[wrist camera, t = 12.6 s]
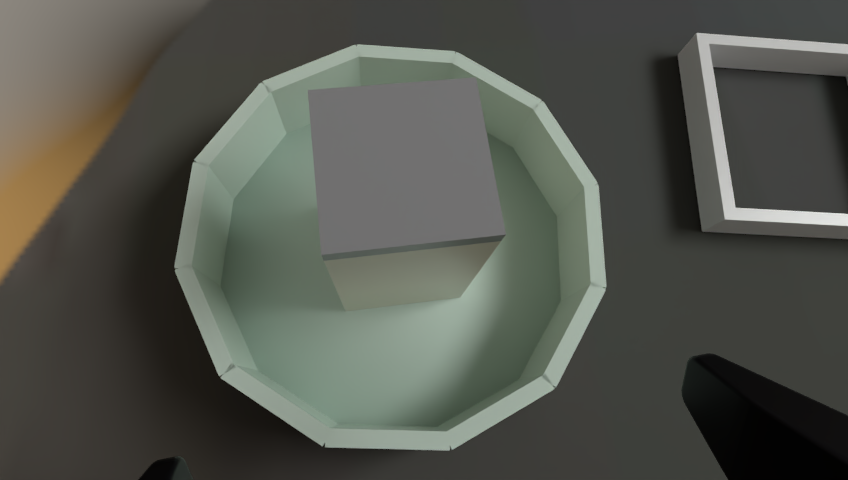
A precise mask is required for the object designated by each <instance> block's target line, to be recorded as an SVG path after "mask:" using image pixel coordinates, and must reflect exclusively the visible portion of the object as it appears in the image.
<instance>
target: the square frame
mask: <svg viewBox="0 0 848 480" xmlns="http://www.w3.org/2000/svg"><path fill="white" fill-rule="evenodd" d="M678 62H679V70H680V77H681V84H682V91H683V98H684V106H685V113H686V120H687V127H688V135H689V142H690V149H691V156H692V164H693V171H694V178H695V185H696V193H697V200H698V207H699V214H700V221H701V229H702V232H718V233H737V234H756V235H775V236H794V237H814V238H833V239H848V214H839V213H821V212H802V211H784V210H766V209H748V208H735V201H734V195H733V189H732V183H731V177H730V170H729V164H728V158H727V152H726V146H725V139H724V133H723V127H722V121H721V114H720V108H719V102H718V96H717V90H716V83H715V77H714V71H713V67H720V68H734V69H748V70H762V71H776V72H789V73H803V74H817V75H831V76H845V77H846V80H847V84H848V44H834V43H821V42H808V41H795V40H782V39H769V38H755V37H742V36H729V35H716V34H703V33H696V34H695V35H694V36H693V37H692V39H691V40H690V41H689V42H688V43H687V45H686V46H685V47H684V48H683V49H682V50H681V52H680V53H679V54H678Z"/></svg>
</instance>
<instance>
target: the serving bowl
mask: <svg viewBox="0 0 848 480" xmlns="http://www.w3.org/2000/svg"><path fill="white" fill-rule="evenodd" d="M473 77H476V80H477V85H478V90H479V95H480V101H481V106H482V111H483V116H484V122H485V127H486V132H487V137H488V143H489V148H490V153H491V158H492V164H493V169H494V174H495V180H496V185H497V190H498V195H499V201H500V206H501V211H502V216H503V222H504V227H505V232H506V235H505V237H504V238H503V239H502V241H501V242H500V244H499V245H498V246H497V248H496V249H495V250H494V252H493V253H492V254H491V256H490V257H489V259H488V260H487V261H486V263H485V264H484V265H483V267H482V268H481V270H480V271H479V272H478V274H477V275H476V276H475V278H474V279H473V281H472V282H471V283H470V285H469V286H468V287H467V289H466V290H465V292H464V293H463V294H462V296H461V297H460V298H451V299H443V300H435V301H427V302H419V303H410V304H402V305H394V306H386V307H378V308H370V309H361V310H353V311H345V309H344V307H343V304H342V302H341V300H340V297H339V295H338V293H337V290H336V288H335V286H334V283H333V281H332V279H331V276H330V274H329V272H328V270H327V267H326V265H325V263H324V260H323V258H322V256H321V246H320V234H319V222H318V210H317V198H316V185H315V173H314V161H313V149H312V137H311V124H310V112H309V100H308V90H314V89H327V88H341V87H354V86H367V85H380V84H394V83H407V82H420V81H434V80H447V79H460V78H473ZM262 82H263V84H262V83H260V84H259V85H258V86H257V87H256V89H255V90H254V91H253V92H252V93H251V94H250V96H249V97H248V98H247V99H246V100H245V101H244V103H243V104H242V105H241V106H240V107H239V108H238V110H237V111H236V112H235V113H234V114H233V115H232V117H231V118H230V119H229V120H228V121H227V122H226V123H225V125H224V126H223V127H222V128H221V129H220V130H219V132H218V133H217V134H216V135H215V136H214V137H213V139H212V140H211V141H210V142H209V143H208V144H207V146H206V147H205V148H204V149H203V150H202V151H201V153H200V154H199V155H198V156H197V157H196V158H195V159H194V161H195V162H193V164H192V170H191V176H190V181H189V187H188V192H187V198H186V204H185V209H184V215H183V220H182V226H181V232H180V237H179V243H178V248H177V254H176V260H175V265H174V268H175V269H176V270H174V271H175V273H176V275H177V278H178V280H179V283H180V285H181V287H182V290H183V292H184V294H185V297H186V299H187V302H188V304H189V306H190V309H191V311H192V313H193V316H194V318H195V321H196V323H197V325H198V328H199V330H200V332H201V335H202V337H203V340H204V342H205V344H206V347H207V349H208V351H209V354H210V356H211V359H212V361H213V363H214V366H215V368H216V371H217V373H218V375H219V376H221V379H223V380H224V381H226V382H227V383H229V384H230V385H232V386H233V387H234V388H236V389H237V390H239V391H240V392H242V393H243V394H245V395H246V396H248V397H249V398H251V399H252V400H254V401H255V402H257V403H258V404H260V405H261V406H263V407H264V408H266V409H267V410H269V411H270V412H272V413H273V414H275V415H276V416H278V417H279V418H281V419H282V420H284V421H285V422H287V423H288V424H290V425H291V426H292V427H294V428H295V429H297V430H298V431H300V432H301V433H303V434H304V435H306V436H307V437H309V438H310V439H312V440H313V441H315V442H316V443H318V444H319V445H321V446H324V445H325V447H330V448H370V449H410V450H450V449H452V450H453V449H454V448H456V447H458V446H459V445H461V444H463V443H464V442H466V441H468V440H470V439H471V438H473V437H475V436H476V435H478V434H480V433H481V432H483V431H485V430H486V429H488V428H490V427H491V426H493V425H495V424H496V423H498V422H500V421H501V420H503V419H505V418H507V417H508V416H510V415H512V414H513V413H515V412H517V411H518V410H520V409H522V408H523V407H525V406H527V405H528V404H530V403H532V402H533V401H535V400H537V399H538V398H540V397H542V396H543V395H545V394H547V393H549V392H550V391H552V390H554V387H557V385H558V383H559V381H560V379H561V377H562V375H563V373H564V371H565V369H566V367H567V365H568V363H569V361H570V359H571V357H572V355H573V353H574V351H575V349H576V347H577V345H578V343H579V341H580V339H581V337H582V336H583V334H584V332H585V330H586V328H587V326H588V324H589V322H590V320H591V318H592V316H593V314H594V312H595V310H596V308H597V306H598V304H599V302H600V300H601V298H602V296H603V294H604V292H605V290H606V289H605V288H606V275H605V263H604V250H603V237H602V224H601V211H600V198H599V185H597V184H598V183H597V181H596V180H595V178H594V177H593V175H592V174H591V172H590V171H589V169H588V168H587V166H586V165H585V163H584V162H583V160H582V159H581V157H580V156H579V154H578V153H577V151H576V150H575V148H574V147H573V145H572V144H571V142H570V141H569V139H568V138H567V136H566V135H565V133H564V132H563V130H562V129H561V127H560V126H559V124H558V123H557V121H556V120H555V118H554V117H553V115H552V114H551V112H550V111H549V109H548V108H547V106H546V105H545V103H544V102H541V101H542V100H541V99H539V98H537V97H536V96H534V95H532V94H530V93H528V92H527V91H525V90H523V89H521V88H520V87H518V86H516V85H514V84H513V83H511V82H509V81H507V80H506V79H504V78H502V77H500V76H498V75H497V74H495V73H493V72H491V71H490V70H488V69H486V68H484V67H483V66H481V65H479V64H477V63H476V62H474V61H472V60H470V59H468V58H467V57H465V56H463V55H461V54H460V53H458V52H456V54H455V51H443V50H429V49H415V48H401V47H387V46H373V45H359V44H357V47H356V45H353V46H351V47H348V48H345V49H343V50H340V51H338V52H335V53H333V54H330V55H328V56H325V57H323V58H320V59H318V60H315V61H313V62H310V63H308V64H305V65H303V66H300V67H297V68H295V69H292V70H290V71H287V72H285V73H282V74H280V75H277V76H275V77H272V78H270V79H267V80H265V81H262ZM540 102H541V103H540Z"/></svg>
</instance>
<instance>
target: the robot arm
mask: <svg viewBox="0 0 848 480" xmlns="http://www.w3.org/2000/svg"><path fill="white" fill-rule="evenodd" d="M682 397H683V400H684V403H685V405H686V406H687V408H688V410H689V412H690V414H691V415H692V417H693V419H694V421H695V422H696V424H697V426H698V428H699V430H700V431H701V433H702V435H703V437H704V438H705V440H706V442H707V444H708V446H709V447H710V449H711V451H712V453H713V454H714V456H715V458H716V460H717V461H718V463H719V465H720V467H721V468H722V470H723V472H724V473H725V475H726V477H727V478H728V480H848V415H846V414H843V413H841V412H839V411H837V410H835V409H833V408H830V407H828V406H826V405H824V404H822V403H820V402H817V401H815V400H813V399H811V398H809V397H807V396H804V395H802V394H800V393H798V392H796V391H794V390H791V389H789V388H787V387H785V386H783V385H781V384H778V383H776V382H774V381H772V380H770V379H768V378H765V377H763V376H761V375H759V374H757V373H754V372H752V371H750V370H748V369H746V368H744V367H741V366H739V365H737V364H735V363H733V362H731V361H728V360H726V359H724V358H722V357H720V356H718V355H715V354H703V355H698V356H693V357H691V358H690V359H689V360H688V362H687V365H686V370H685V375H684V380H683V385H682ZM138 480H193V478H192V476H191V473H190V471H189V469H188V466H187V464H186V462H185V460H184V459H183V458H182V457H178V456H176V457H171V458H166V459H161V460H157V461H155V462H154V463H153V464H151V465H150V467H149V468H148V469H147V470H146V471H145V472H144V474H143V475H142V476H141V477H140V478H139V479H138Z"/></svg>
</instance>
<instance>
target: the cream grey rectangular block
mask: <svg viewBox="0 0 848 480" xmlns="http://www.w3.org/2000/svg"><path fill="white" fill-rule="evenodd" d="M308 100H309V112H310V124H311V137H312V149H313V161H314V173H315V185H316V198H317V210H318V222H319V234H320V246H321V256H322V258H323V260H324V263H325V265H326V267H327V270H328V272H329V274H330V276H331V279H332V281H333V283H334V286H335V288H336V290H337V293H338V295H339V297H340V300H341V302H342V304H343V307H344V309H345V311H353V310H361V309H370V308H378V307H386V306H394V305H402V304H410V303H419V302H427V301H435V300H443V299H451V298H460V297H461V296H462V294H463V293H464V292H465V290H466V289H467V287H468V286H469V285H470V283H471V282H472V281H473V279H474V278H475V276H476V275H477V274H478V272H479V271H480V270H481V268H482V267H483V265H484V264H485V263H486V261H487V260H488V259H489V257H490V256H491V254H492V253H493V252H494V250H495V249H496V248H497V246H498V245H499V244H500V242H501V241H502V239H503V238H504V237H505V235H506V232H505V227H504V222H503V216H502V211H501V206H500V201H499V195H498V190H497V185H496V180H495V174H494V169H493V164H492V158H491V153H490V148H489V143H488V137H487V132H486V127H485V122H484V116H483V111H482V106H481V101H480V95H479V90H478V85H477V80H476V77H473V78H460V79H447V80H434V81H420V82H407V83H394V84H380V85H367V86H354V87H341V88H327V89H314V90H308Z"/></svg>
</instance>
